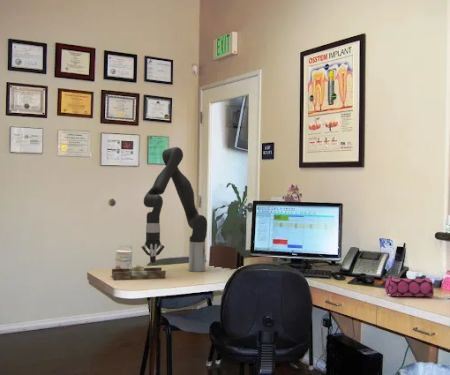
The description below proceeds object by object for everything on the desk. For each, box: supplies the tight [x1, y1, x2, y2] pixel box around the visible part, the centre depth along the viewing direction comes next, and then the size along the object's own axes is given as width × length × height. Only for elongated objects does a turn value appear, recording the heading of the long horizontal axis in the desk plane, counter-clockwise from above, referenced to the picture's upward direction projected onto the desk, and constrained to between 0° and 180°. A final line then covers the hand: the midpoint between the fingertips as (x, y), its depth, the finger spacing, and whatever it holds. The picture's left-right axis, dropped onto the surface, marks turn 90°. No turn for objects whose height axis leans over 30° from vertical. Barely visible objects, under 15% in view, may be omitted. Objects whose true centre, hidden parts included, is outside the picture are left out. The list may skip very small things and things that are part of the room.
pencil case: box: [384, 275, 435, 297], centre depth 234 cm, size 21×10×10 cm, turn 92°
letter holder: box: [208, 244, 245, 270], centre depth 306 cm, size 10×20×14 cm, turn 59°
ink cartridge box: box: [114, 244, 133, 269], centre depth 283 cm, size 9×5×15 cm, turn 84°
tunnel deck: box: [111, 267, 166, 281], centre depth 265 cm, size 27×12×4 cm, turn 109°
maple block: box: [132, 264, 145, 272], centre depth 266 cm, size 6×6×4 cm
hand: (152, 263), depth 267 cm, fingers closed
